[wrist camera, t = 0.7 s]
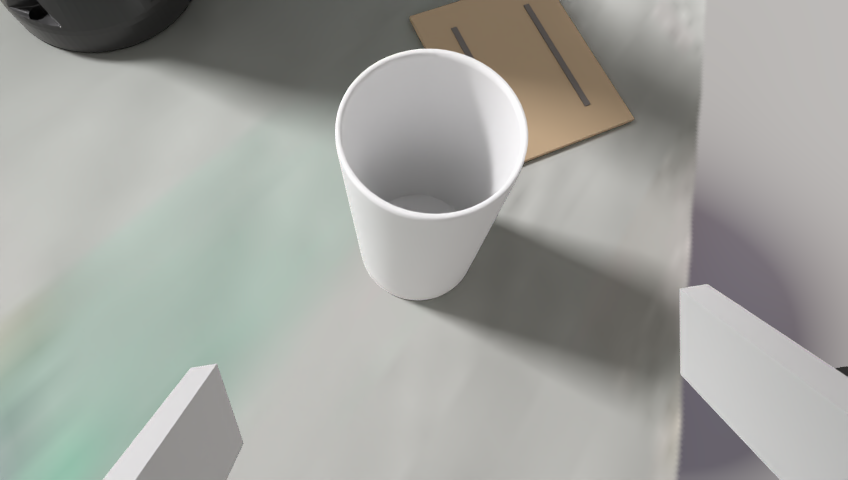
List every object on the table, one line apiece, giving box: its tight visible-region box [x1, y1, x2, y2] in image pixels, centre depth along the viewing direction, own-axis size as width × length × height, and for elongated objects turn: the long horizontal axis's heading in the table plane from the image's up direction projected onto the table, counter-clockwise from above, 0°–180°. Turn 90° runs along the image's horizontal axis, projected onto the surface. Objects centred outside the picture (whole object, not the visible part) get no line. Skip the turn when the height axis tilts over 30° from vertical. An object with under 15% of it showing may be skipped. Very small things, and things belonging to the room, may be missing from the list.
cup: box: [335, 49, 528, 300], centre depth 28 cm, size 8×8×16 cm
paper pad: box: [410, 0, 634, 162], centre depth 41 cm, size 16×13×1 cm
